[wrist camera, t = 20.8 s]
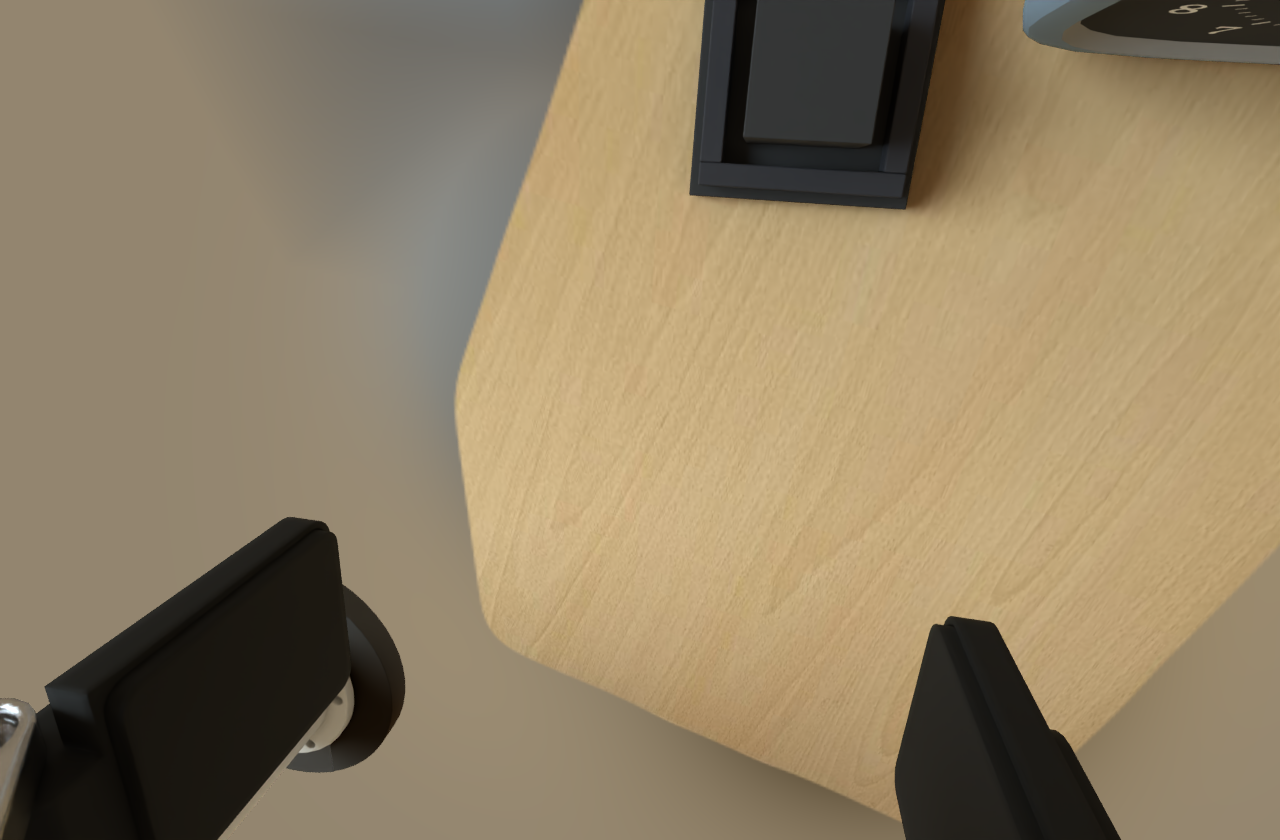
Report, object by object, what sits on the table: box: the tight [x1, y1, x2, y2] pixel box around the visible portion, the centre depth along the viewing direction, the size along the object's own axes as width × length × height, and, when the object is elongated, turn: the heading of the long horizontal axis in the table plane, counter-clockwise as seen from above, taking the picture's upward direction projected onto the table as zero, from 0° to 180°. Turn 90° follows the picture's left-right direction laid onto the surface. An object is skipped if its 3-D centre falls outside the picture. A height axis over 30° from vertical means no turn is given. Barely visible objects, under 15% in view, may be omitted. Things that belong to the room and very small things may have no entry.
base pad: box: [689, 0, 945, 209], centre depth 29 cm, size 10×10×2 cm
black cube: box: [743, 0, 896, 149], centre depth 27 cm, size 5×5×4 cm
